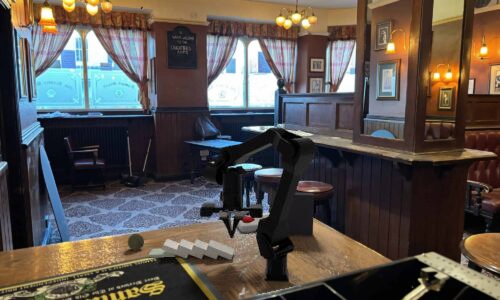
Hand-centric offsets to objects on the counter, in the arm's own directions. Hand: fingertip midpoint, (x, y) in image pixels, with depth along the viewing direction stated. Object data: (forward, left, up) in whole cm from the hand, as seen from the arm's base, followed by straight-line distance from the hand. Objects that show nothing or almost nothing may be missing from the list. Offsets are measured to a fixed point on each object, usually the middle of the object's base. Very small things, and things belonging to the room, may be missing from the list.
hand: (231, 237), depth 116 cm
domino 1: (+1, +17, -6) cm, 18 cm away
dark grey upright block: (+22, -21, -6) cm, 31 cm away
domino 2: (0, +13, -5) cm, 14 cm away
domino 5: (0, 0, -5) cm, 5 cm away
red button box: (+29, -4, -7) cm, 30 cm away
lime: (+4, +32, -6) cm, 32 cm away
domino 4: (0, +4, -5) cm, 7 cm away
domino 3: (0, +9, -5) cm, 10 cm away
